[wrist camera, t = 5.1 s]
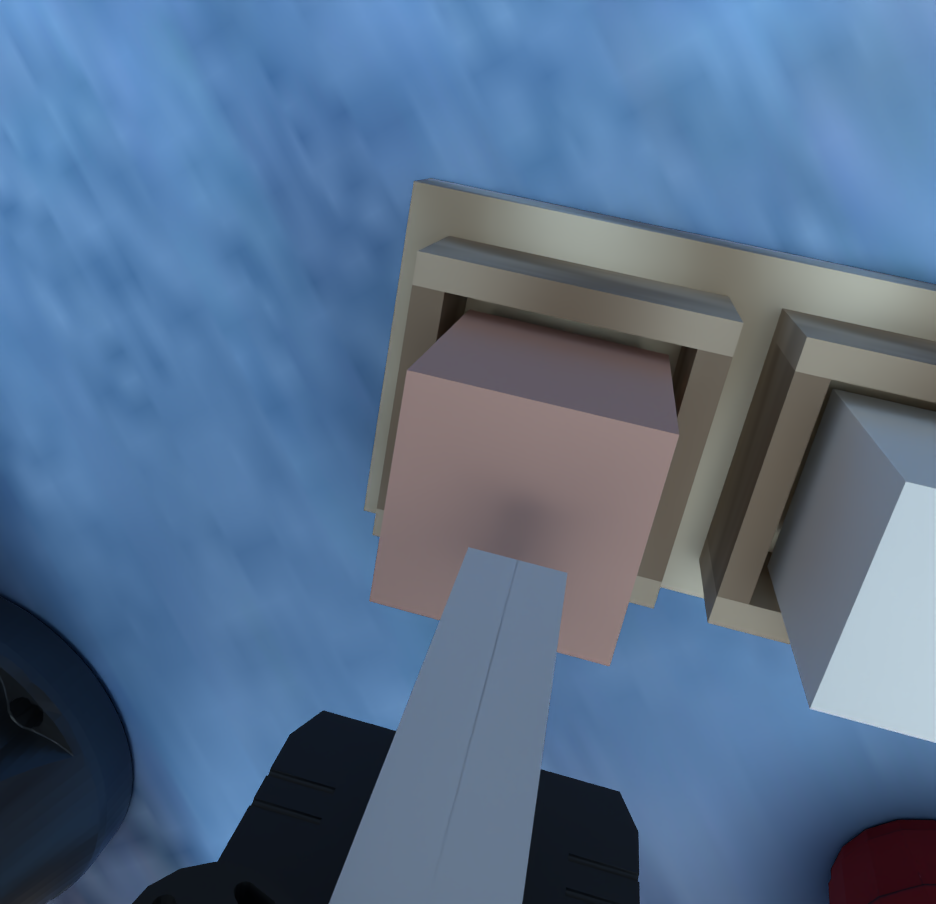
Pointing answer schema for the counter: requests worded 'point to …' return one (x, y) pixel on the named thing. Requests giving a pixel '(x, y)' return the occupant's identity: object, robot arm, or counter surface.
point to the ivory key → (864, 565)
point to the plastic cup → (887, 865)
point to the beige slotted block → (673, 361)
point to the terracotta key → (528, 469)
